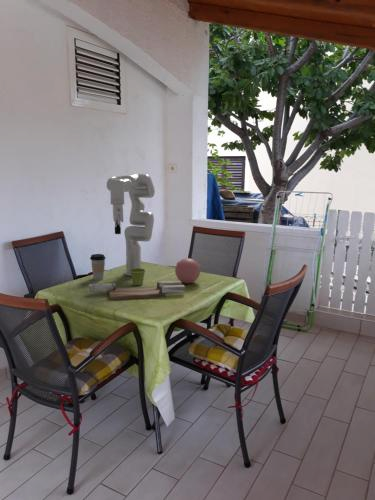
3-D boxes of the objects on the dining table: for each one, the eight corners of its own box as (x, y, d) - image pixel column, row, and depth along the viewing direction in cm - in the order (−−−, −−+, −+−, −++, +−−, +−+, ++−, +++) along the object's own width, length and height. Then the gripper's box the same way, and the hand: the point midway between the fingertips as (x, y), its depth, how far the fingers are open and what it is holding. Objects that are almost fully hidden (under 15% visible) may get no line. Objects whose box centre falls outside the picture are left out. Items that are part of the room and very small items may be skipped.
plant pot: (148, 284, 246) (148, 270, 244) (136, 287, 239) (136, 273, 237) (138, 280, 252) (138, 267, 250) (126, 283, 245) (126, 270, 243)
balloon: (189, 276, 265) (190, 253, 262) (204, 284, 247) (205, 260, 244) (168, 278, 258) (168, 255, 255) (181, 287, 241) (181, 262, 237)
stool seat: (108, 291, 230) (108, 283, 229) (179, 288, 240) (180, 280, 239) (110, 300, 217) (110, 291, 216) (185, 295, 227) (185, 287, 226)
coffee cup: (109, 278, 256) (108, 255, 252) (98, 281, 248) (97, 257, 245) (98, 275, 261) (97, 252, 257) (87, 278, 253) (86, 255, 250)
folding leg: (115, 288, 229) (115, 283, 229) (115, 289, 227) (115, 284, 226) (89, 289, 226) (88, 284, 225) (89, 291, 223) (88, 286, 223)
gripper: (125, 203, 221) (126, 236, 225) (122, 200, 235) (122, 231, 239) (111, 203, 219) (112, 236, 223) (109, 200, 233) (109, 231, 237)
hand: (117, 233), depth 231 cm, fingers closed
